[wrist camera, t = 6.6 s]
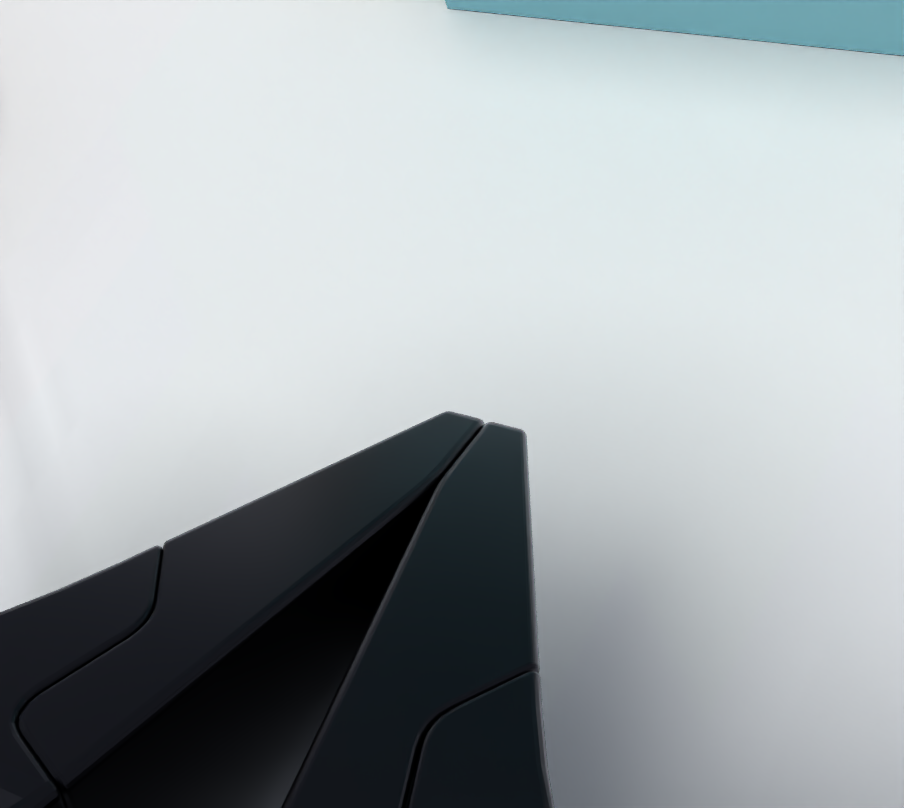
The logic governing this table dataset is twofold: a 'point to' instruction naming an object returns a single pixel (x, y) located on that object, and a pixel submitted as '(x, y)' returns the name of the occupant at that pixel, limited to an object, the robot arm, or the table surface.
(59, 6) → the table surface
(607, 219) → the table surface
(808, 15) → the t block
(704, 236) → the table surface
